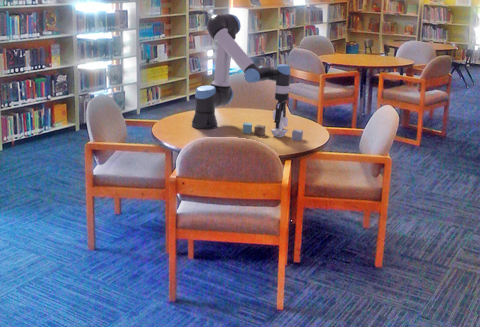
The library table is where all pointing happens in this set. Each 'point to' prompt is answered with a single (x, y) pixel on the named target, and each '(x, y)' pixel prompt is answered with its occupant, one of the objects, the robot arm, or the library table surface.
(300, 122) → the library table surface
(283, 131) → the figurine
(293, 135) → the slate-grey block
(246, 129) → the dusty-teal block
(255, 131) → the walnut block
